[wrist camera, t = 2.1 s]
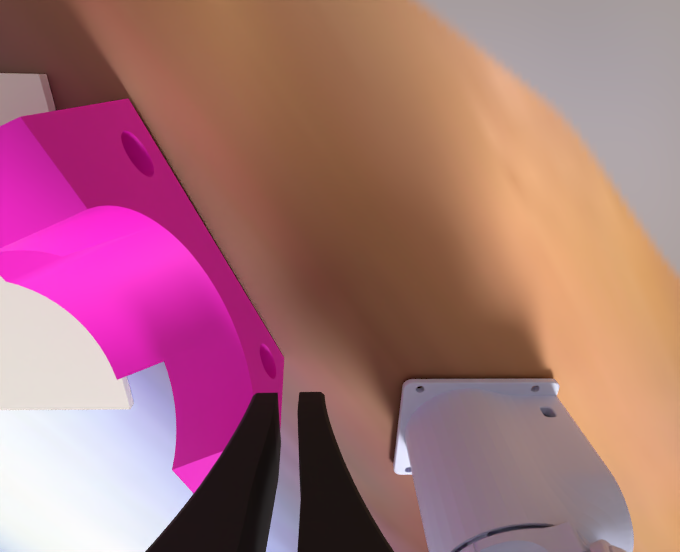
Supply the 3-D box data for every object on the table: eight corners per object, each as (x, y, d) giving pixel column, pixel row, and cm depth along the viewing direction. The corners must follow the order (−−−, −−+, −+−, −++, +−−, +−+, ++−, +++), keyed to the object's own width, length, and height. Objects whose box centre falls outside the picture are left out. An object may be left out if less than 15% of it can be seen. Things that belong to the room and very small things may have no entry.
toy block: (2, 157, 18) (-176, 210, 11) (128, 98, 17) (20, 117, 11) (188, 395, 25) (147, 516, 18) (284, 357, 24) (277, 469, 17)
